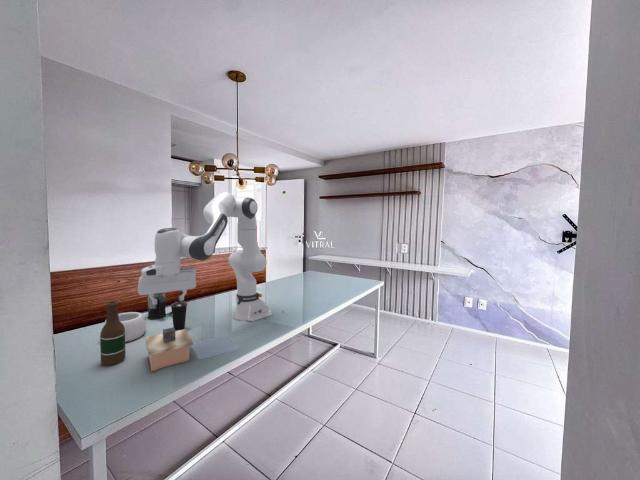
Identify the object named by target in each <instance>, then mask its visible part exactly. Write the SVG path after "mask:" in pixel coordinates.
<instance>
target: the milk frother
mask: <svg viewBox="0 0 640 480" xmlns="http://www.w3.org/2000/svg"><path fill="white" fill-rule="evenodd" d="M152 297H153V298H154V299H157V304H155V305H153V303H152V300H151V298H150V297H149V294H147V319H148V320H159V319H163V318H165V317H166V316H167V315H169V316H170V315H171V314H172V311H170V312H168V313H166V311H167V310H166V304H167V303H166V302H167V301H166V292H163V293H155V294H154V296H152Z"/></svg>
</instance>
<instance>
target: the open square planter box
mask: <svg viewBox="0 0 640 480" xmlns="http://www.w3.org/2000/svg"><path fill="white" fill-rule="evenodd" d="M148 359H149V367H150V371H151V373H152V372H155V371H158V370H159V369H161V368H165V367H166V368H167V367H169V366H172V365H173V366H174V365H176V364H181V363H185V362H188V361H190V346H187V347H183V348H178V349H174V350H170V351H166V352H162V353H158V354H154V355H149V356H148Z"/></svg>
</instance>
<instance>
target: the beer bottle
mask: <svg viewBox="0 0 640 480" xmlns="http://www.w3.org/2000/svg"><path fill="white" fill-rule="evenodd" d="M105 306H106V319H105V321H106V324H105V326H104V327H103V326H102V328H101V331H100V335H99V340H100V341H99V344H100V345H99V347H100V364H101V365H102V366H105V367H110V366H116V365H117V364H120V363H122V362H123V361H124V360H125V358H126V353H127V352H126V342H125V327H124V325H123V324H122V323H121V322H120V321H119V316H118V314H119V308H118V306H119V303H118V301H109V302H107V303H106V305H105Z"/></svg>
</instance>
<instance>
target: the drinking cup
mask: <svg viewBox="0 0 640 480" xmlns="http://www.w3.org/2000/svg"><path fill="white" fill-rule="evenodd" d="M177 295H178V296H177V297H178V298H177V300H178V301H175V302H173V303H171V304H170V308H171V312H172V315H171V318H172V325H173V327H174V329H175V331H178V330H183V329H186V327H185V326H186V319H187V309H188V308H187V307H188V302H186V301H180V300H179V296H181V292H180V291H178V293H177ZM173 327H172V328H173Z"/></svg>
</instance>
